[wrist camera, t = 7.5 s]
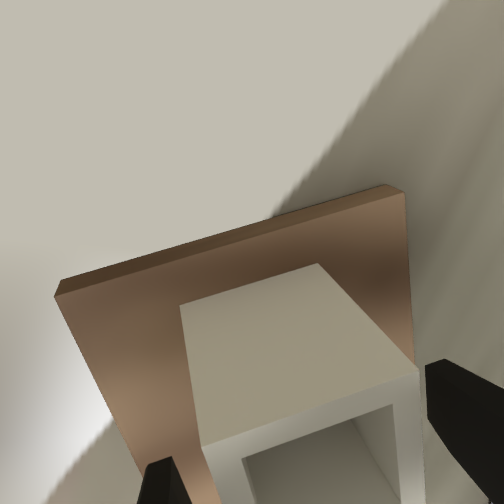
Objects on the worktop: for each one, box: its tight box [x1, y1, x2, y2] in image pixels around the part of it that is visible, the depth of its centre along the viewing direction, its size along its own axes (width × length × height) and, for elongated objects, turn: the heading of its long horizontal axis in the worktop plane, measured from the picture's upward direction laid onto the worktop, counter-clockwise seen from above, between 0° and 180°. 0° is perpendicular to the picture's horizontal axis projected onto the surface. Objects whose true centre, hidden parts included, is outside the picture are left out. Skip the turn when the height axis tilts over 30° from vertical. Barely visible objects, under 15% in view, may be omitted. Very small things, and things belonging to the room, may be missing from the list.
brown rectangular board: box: [54, 185, 415, 504], centre depth 17 cm, size 18×12×4 cm, turn 12°
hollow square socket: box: [179, 263, 426, 504], centre depth 13 cm, size 5×5×6 cm
